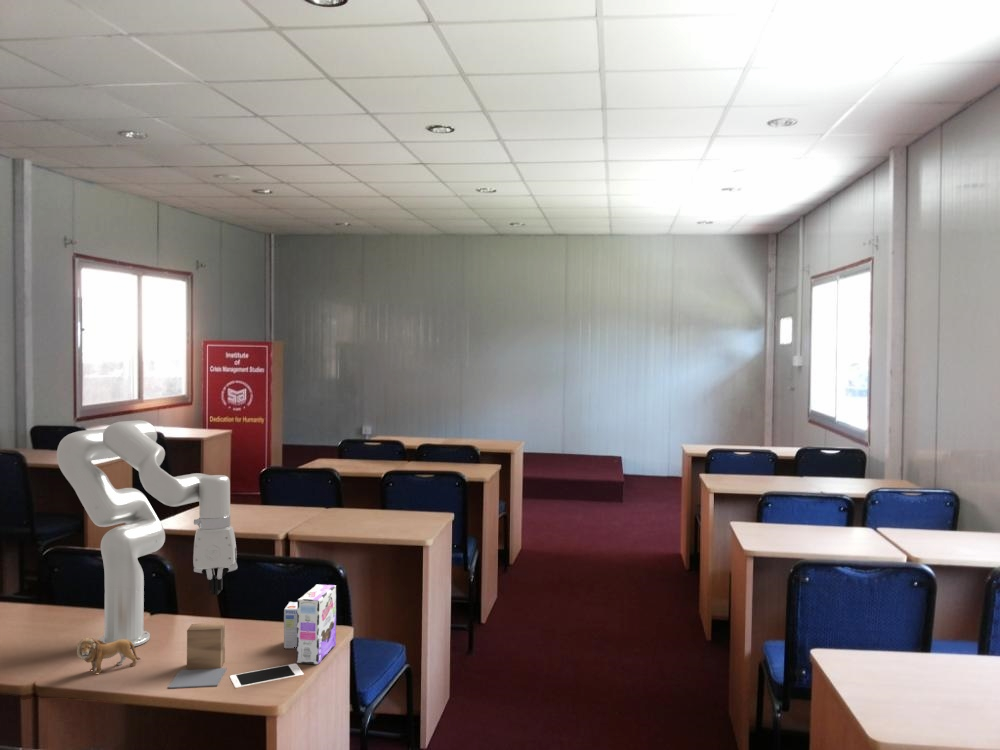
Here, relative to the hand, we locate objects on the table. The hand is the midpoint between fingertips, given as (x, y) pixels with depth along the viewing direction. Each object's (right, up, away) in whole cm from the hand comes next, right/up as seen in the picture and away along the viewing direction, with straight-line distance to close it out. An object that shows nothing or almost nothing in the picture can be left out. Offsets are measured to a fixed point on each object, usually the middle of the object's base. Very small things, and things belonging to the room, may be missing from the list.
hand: (216, 593), depth 193 cm
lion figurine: (-23, -16, -11) cm, 30 cm away
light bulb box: (+21, -16, +8) cm, 28 cm away
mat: (+2, -16, -15) cm, 22 cm away
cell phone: (+17, -17, -13) cm, 28 cm away
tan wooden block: (0, -16, -8) cm, 18 cm away
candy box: (+26, -16, +1) cm, 31 cm away
